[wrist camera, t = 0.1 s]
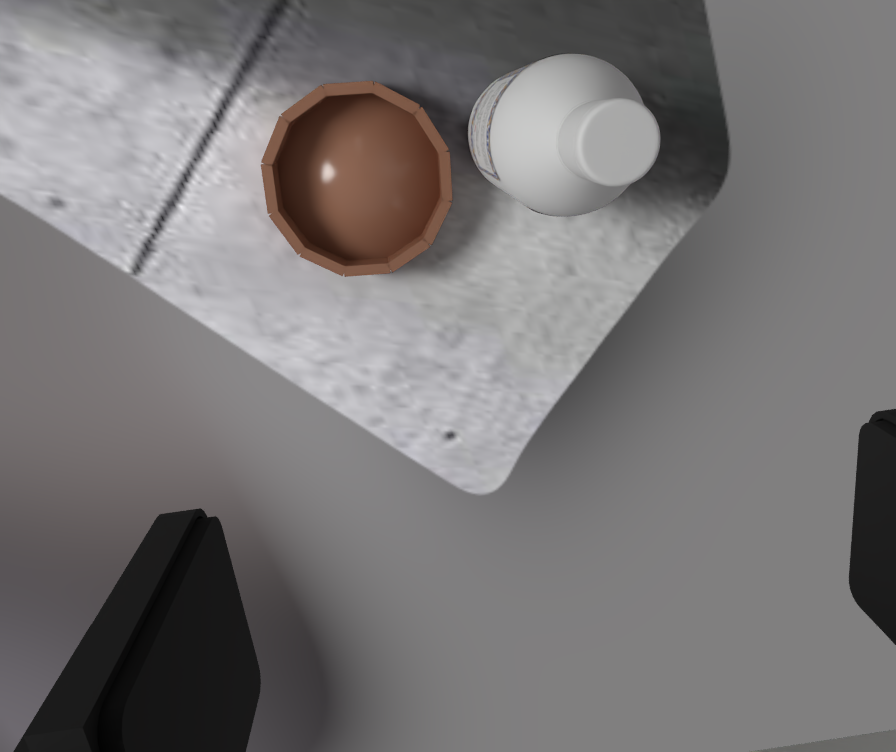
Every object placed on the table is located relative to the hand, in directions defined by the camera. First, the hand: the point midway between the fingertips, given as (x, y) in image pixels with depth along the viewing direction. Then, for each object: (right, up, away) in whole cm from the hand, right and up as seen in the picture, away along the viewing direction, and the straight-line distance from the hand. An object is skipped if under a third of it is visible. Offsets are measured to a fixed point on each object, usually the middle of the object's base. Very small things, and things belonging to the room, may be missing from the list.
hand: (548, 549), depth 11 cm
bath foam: (+3, +17, +33) cm, 37 cm away
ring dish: (-7, +14, +33) cm, 37 cm away
